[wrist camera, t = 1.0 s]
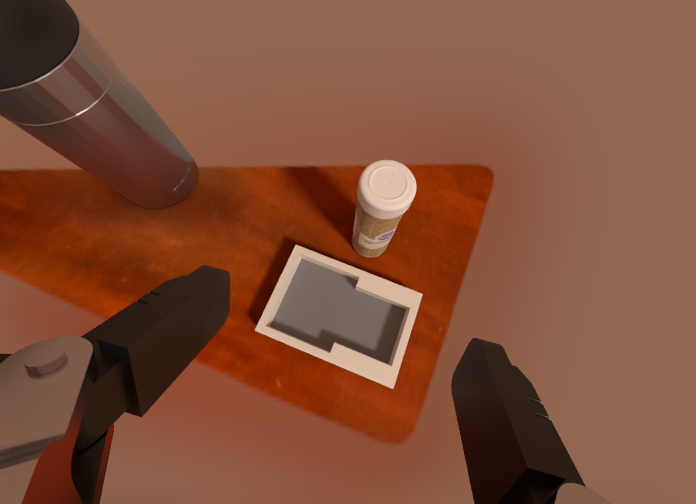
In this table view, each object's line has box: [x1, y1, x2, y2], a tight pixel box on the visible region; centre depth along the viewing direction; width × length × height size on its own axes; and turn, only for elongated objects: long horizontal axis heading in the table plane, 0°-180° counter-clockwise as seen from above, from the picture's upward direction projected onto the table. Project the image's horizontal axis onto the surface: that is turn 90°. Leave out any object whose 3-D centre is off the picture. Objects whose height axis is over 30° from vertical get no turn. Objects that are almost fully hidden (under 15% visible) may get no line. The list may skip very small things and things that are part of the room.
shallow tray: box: [255, 245, 423, 389], centre depth 30 cm, size 15×10×2 cm, turn 68°
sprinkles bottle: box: [352, 160, 416, 257], centre depth 28 cm, size 5×5×14 cm
